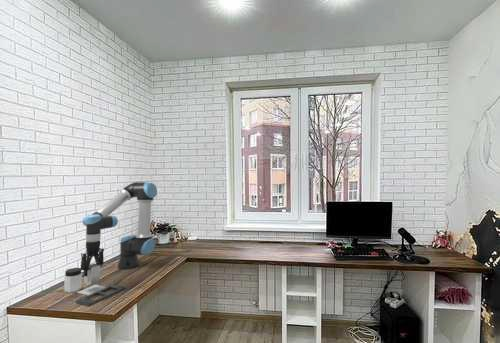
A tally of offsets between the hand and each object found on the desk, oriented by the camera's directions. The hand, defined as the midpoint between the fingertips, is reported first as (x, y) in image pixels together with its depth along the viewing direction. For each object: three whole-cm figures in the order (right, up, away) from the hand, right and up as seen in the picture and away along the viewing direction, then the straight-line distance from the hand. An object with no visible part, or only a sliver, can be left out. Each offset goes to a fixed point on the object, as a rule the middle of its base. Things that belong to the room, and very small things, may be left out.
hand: (92, 279), depth 160 cm
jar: (-12, -7, 0) cm, 14 cm away
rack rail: (+10, -6, -7) cm, 14 cm away
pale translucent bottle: (0, -2, 0) cm, 2 cm away
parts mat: (0, -7, 0) cm, 7 cm away
